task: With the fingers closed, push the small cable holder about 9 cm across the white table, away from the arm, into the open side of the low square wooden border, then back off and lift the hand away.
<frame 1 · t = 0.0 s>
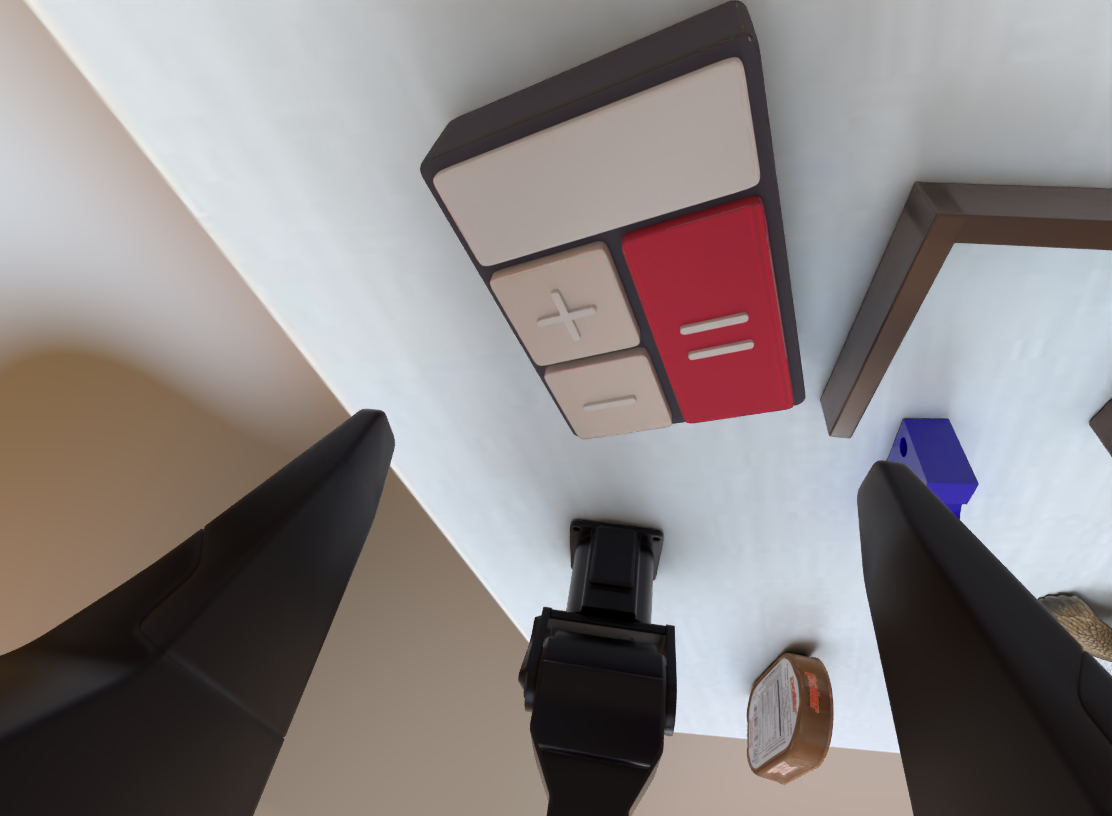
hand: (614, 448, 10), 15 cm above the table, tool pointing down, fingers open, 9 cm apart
calculator: (640, 252, 24), on the table
cable holder: (918, 467, 30), on the table
tin: (777, 667, 51), on the table
square wooden border: (1019, 329, 23), on the table
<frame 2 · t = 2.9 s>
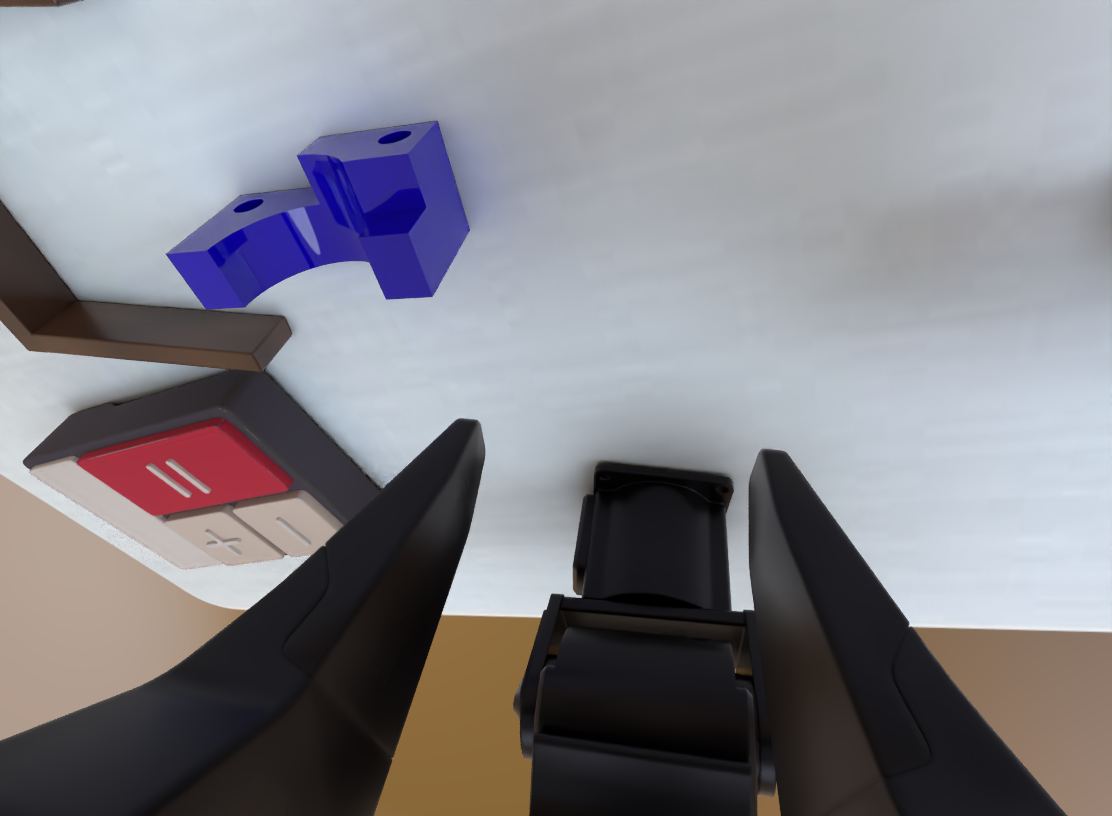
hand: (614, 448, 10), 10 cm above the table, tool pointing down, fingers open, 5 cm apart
calculator: (236, 454, 32), on the table
cable holder: (346, 188, 19), on the table
square wooden border: (98, 180, 20), on the table
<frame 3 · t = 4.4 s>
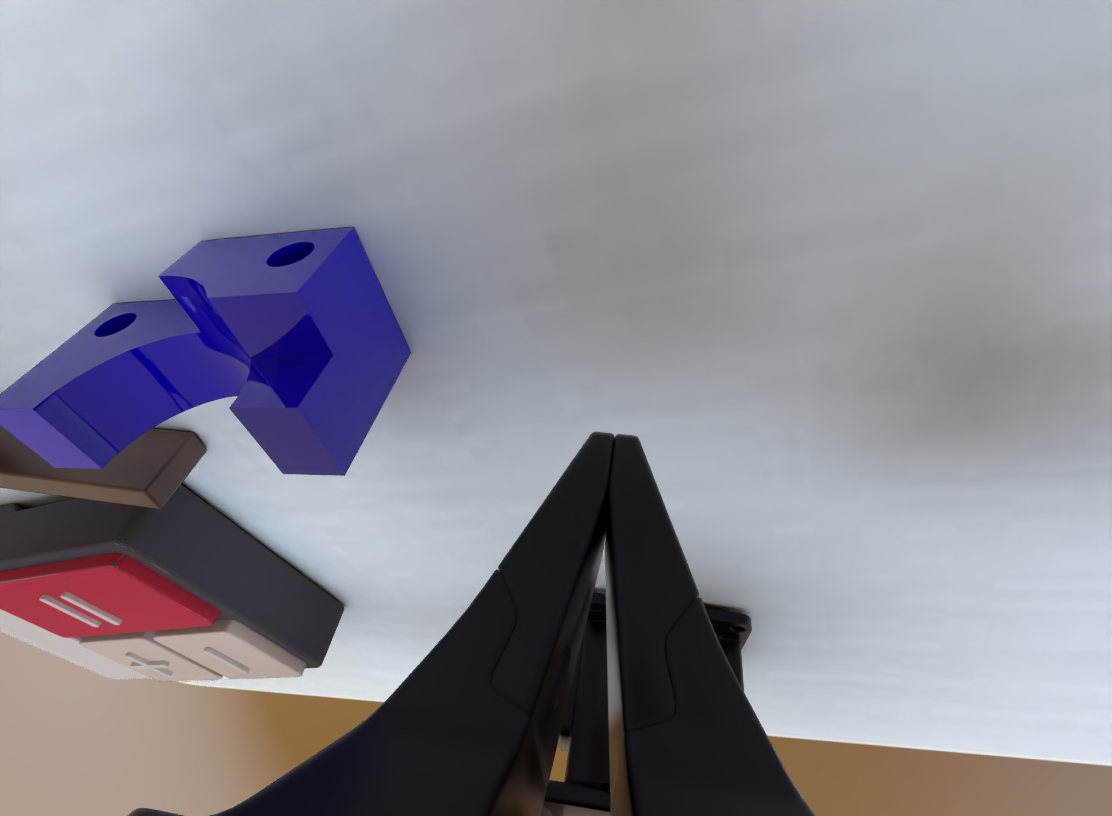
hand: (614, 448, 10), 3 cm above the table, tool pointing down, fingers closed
calculator: (167, 556, 27), on the table
cable holder: (247, 299, 14), on the table
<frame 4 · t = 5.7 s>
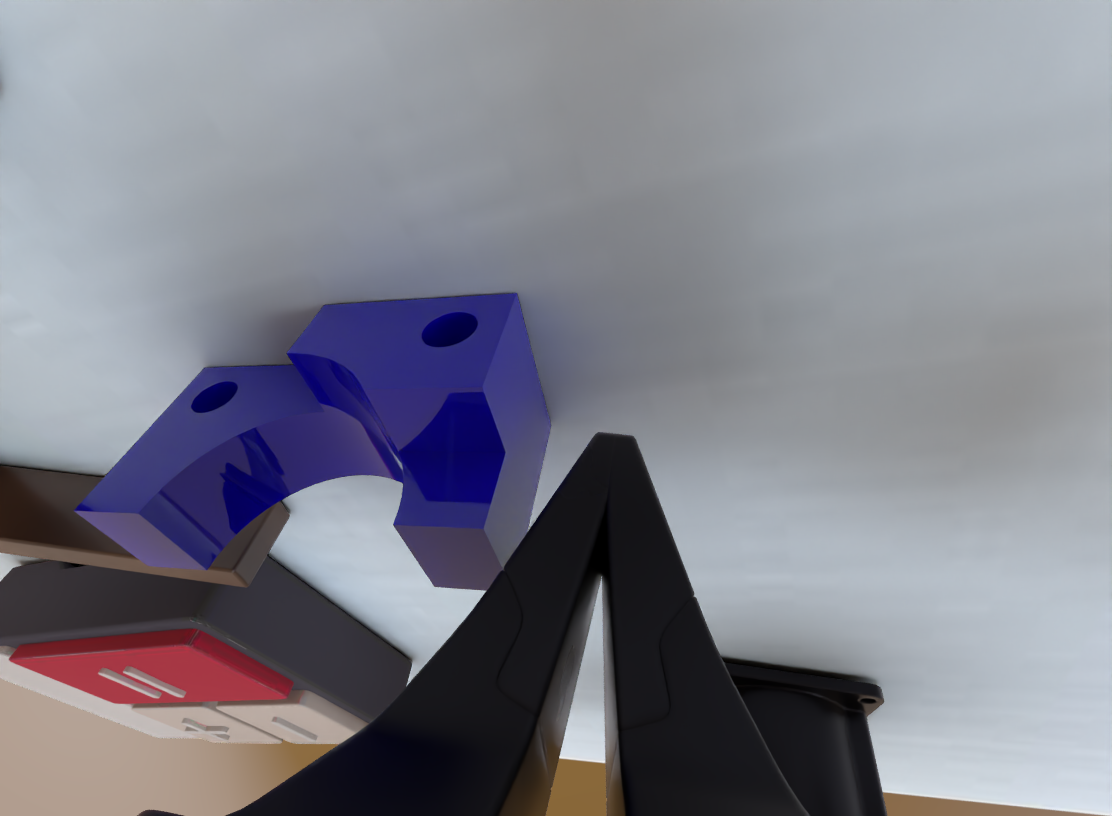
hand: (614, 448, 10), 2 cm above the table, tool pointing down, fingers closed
calculator: (222, 610, 25), on the table
cable holder: (364, 365, 12), on the table, touching gripper
square wooden border: (1, 342, 13), on the table
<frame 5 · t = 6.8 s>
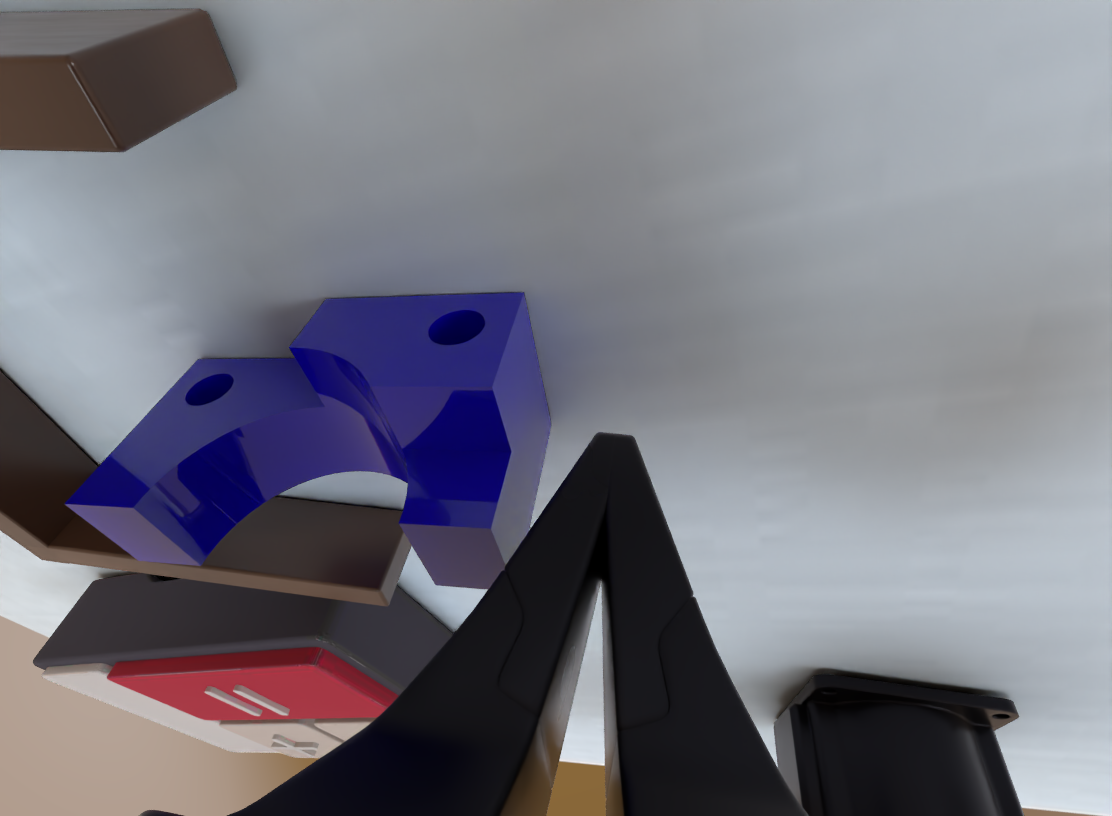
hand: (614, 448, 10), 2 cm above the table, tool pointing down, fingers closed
calculator: (306, 622, 25), on the table
cable holder: (364, 360, 12), on the table, touching gripper
square wooden border: (152, 353, 13), on the table
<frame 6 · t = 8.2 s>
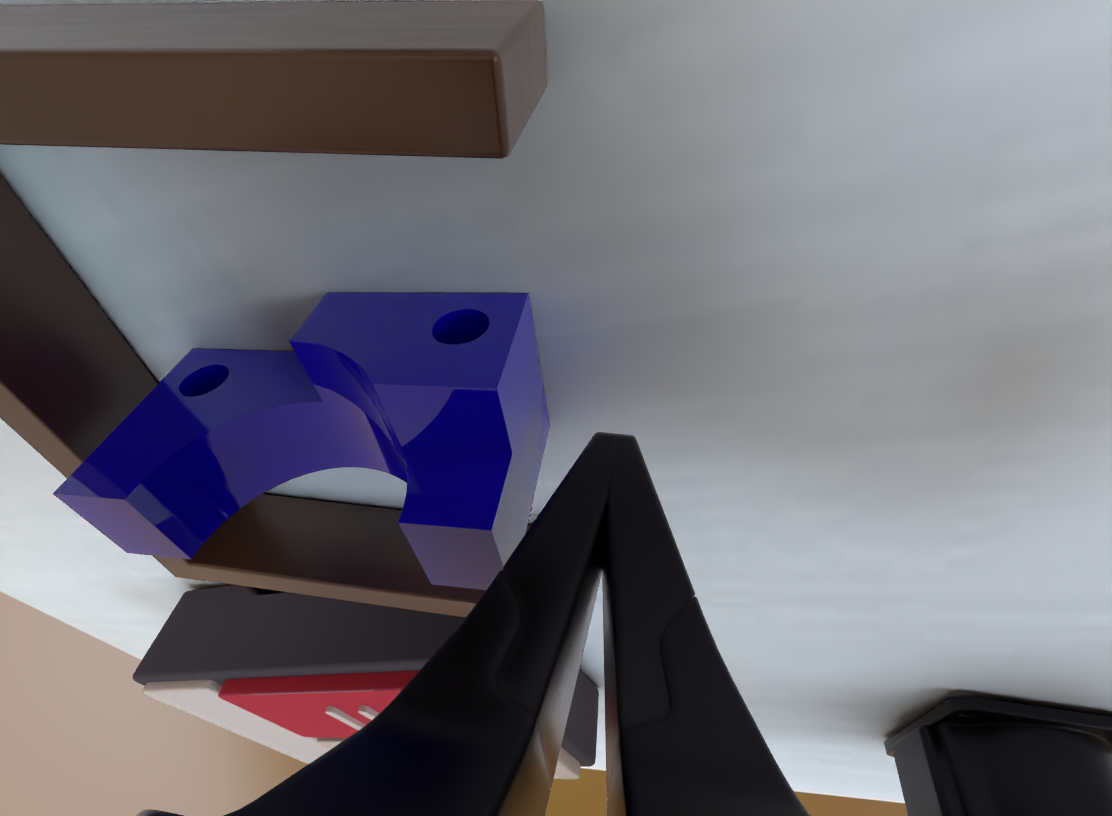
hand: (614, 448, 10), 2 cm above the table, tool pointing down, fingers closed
calculator: (400, 635, 24), on the table
cable holder: (362, 355, 12), on the table, touching gripper
square wooden border: (334, 365, 12), on the table
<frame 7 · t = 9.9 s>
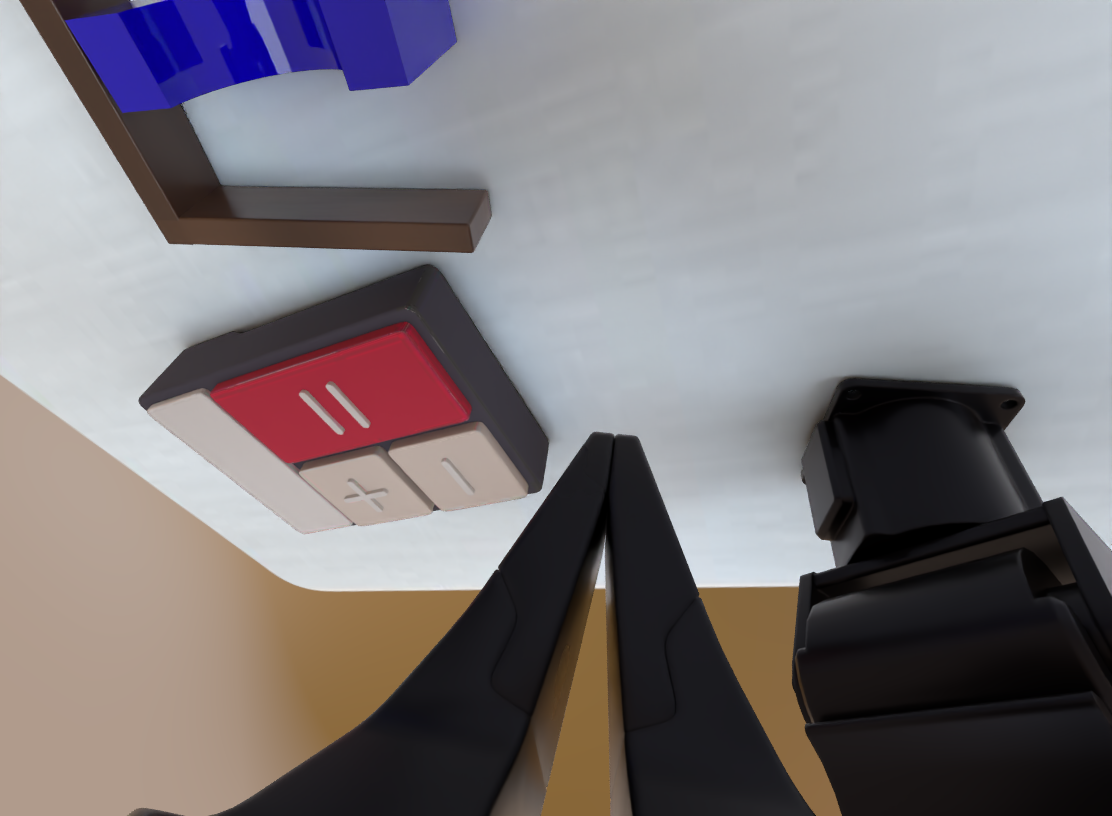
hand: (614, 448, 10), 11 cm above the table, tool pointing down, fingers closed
calculator: (373, 394, 27), on the table
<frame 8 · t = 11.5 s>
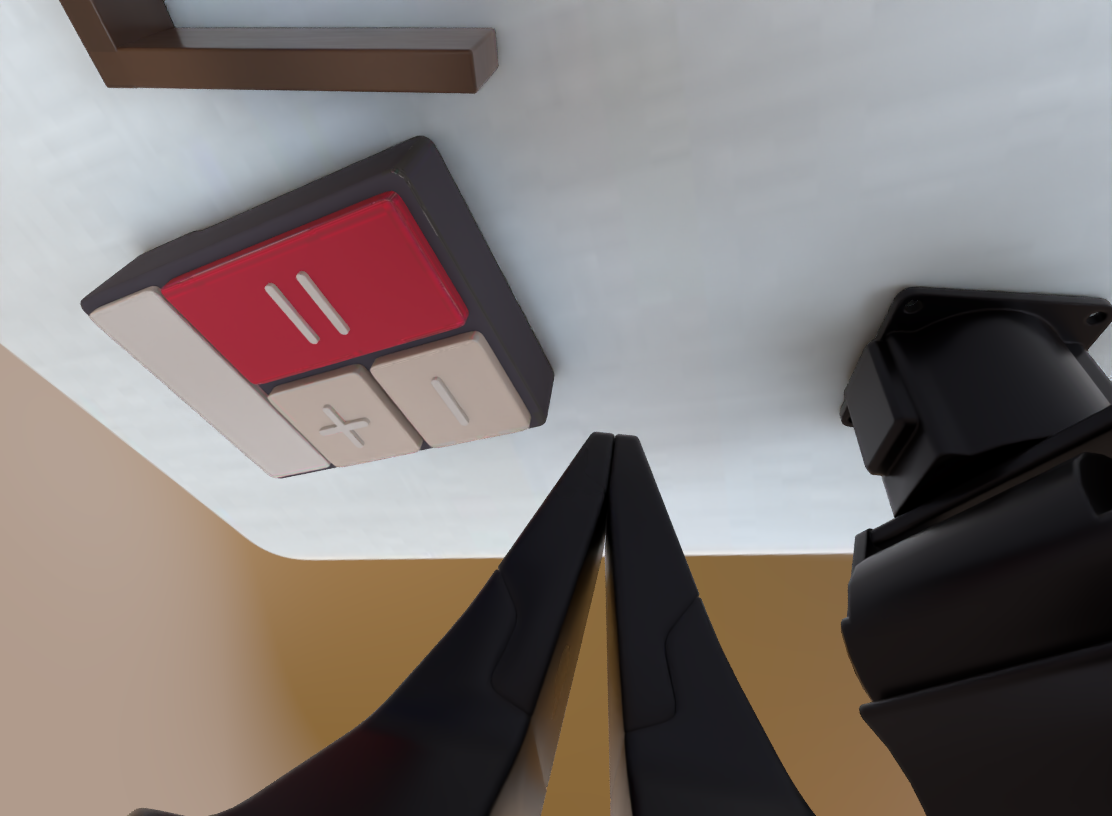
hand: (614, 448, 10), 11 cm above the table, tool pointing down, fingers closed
calculator: (356, 314, 24), on the table
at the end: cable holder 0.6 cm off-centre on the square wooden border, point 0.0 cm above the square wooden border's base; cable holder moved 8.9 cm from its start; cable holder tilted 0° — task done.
